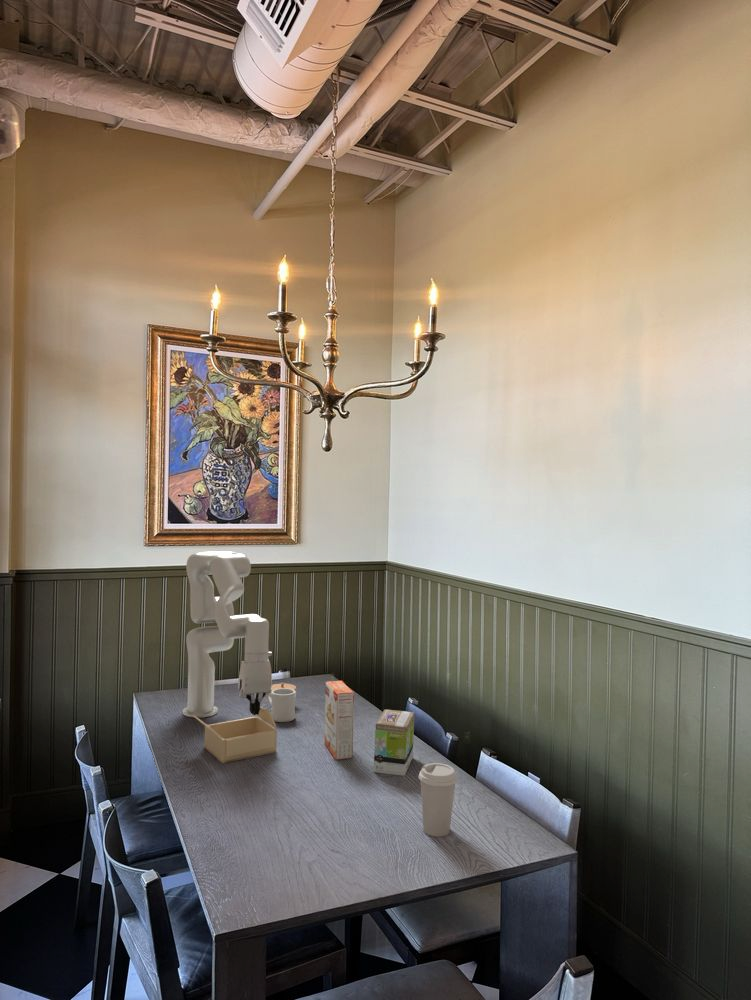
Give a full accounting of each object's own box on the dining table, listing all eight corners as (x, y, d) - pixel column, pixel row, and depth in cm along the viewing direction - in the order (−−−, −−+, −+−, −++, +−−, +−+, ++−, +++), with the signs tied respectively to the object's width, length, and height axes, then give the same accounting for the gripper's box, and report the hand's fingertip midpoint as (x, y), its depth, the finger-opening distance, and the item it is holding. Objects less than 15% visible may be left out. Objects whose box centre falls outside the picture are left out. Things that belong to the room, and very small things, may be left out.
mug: (297, 715, 248) (298, 688, 248) (292, 723, 239) (293, 695, 239) (265, 713, 250) (265, 686, 250) (258, 721, 241) (259, 693, 241)
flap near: (205, 723, 214) (204, 724, 214) (193, 714, 212) (192, 715, 212) (222, 737, 203) (221, 738, 203) (209, 727, 200) (208, 728, 200)
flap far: (275, 727, 213) (276, 726, 213) (269, 713, 212) (270, 712, 212) (256, 715, 224) (257, 714, 225) (250, 701, 223) (251, 700, 223)
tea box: (406, 776, 197) (407, 726, 197) (372, 773, 199) (374, 723, 199) (413, 757, 211) (414, 710, 211) (382, 754, 213) (383, 707, 213)
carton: (203, 746, 215) (204, 725, 215) (255, 736, 225) (256, 716, 225) (223, 763, 202) (223, 740, 202) (277, 752, 212) (277, 730, 212)
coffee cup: (431, 817, 172) (433, 758, 172) (463, 829, 166) (465, 769, 166) (409, 830, 165) (411, 769, 164) (441, 844, 158) (443, 781, 158)
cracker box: (323, 744, 220) (324, 680, 220) (340, 742, 222) (342, 679, 222) (334, 760, 207) (336, 693, 207) (353, 758, 209) (355, 691, 209)
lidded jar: (262, 709, 254) (263, 685, 254) (275, 701, 264) (275, 678, 264) (288, 713, 251) (289, 688, 251) (300, 705, 261) (300, 680, 261)
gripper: (272, 652, 224) (271, 707, 224) (229, 657, 215) (228, 714, 215) (282, 656, 217) (280, 713, 217) (238, 662, 209) (237, 720, 209)
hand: (254, 713), depth 216 cm, fingers closed
